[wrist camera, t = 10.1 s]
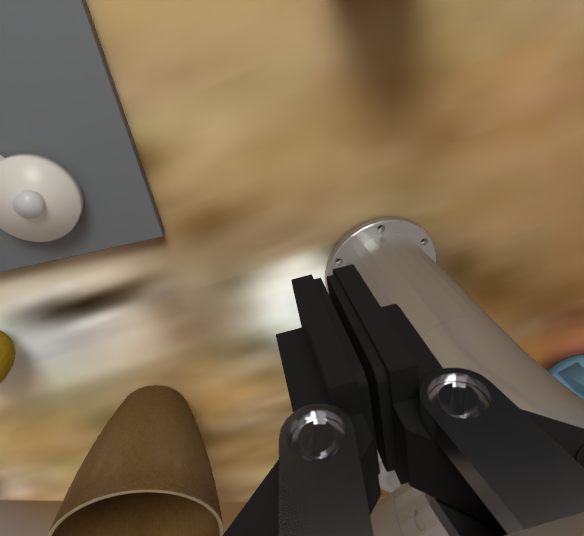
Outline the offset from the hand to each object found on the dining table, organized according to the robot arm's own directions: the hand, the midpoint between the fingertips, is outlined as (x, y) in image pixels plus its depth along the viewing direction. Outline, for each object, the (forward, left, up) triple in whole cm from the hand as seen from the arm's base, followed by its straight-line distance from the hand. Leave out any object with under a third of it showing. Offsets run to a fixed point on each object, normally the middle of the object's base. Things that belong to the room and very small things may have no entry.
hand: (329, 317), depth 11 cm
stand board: (+1, +17, -29) cm, 34 cm away
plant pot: (-31, +17, -30) cm, 46 cm away
